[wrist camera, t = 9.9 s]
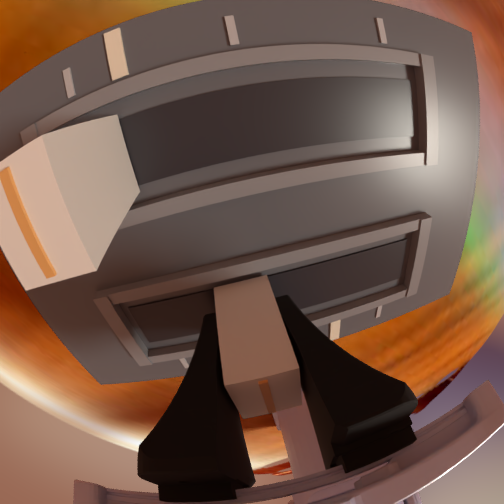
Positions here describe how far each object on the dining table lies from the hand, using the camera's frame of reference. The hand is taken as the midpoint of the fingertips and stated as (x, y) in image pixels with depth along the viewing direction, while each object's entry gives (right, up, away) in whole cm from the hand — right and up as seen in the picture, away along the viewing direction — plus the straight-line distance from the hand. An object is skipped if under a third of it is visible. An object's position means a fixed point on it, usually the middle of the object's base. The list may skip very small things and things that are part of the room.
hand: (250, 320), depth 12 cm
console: (0, +5, 0) cm, 5 cm away
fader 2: (0, +1, +1) cm, 1 cm away
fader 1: (-5, +6, -4) cm, 9 cm away
